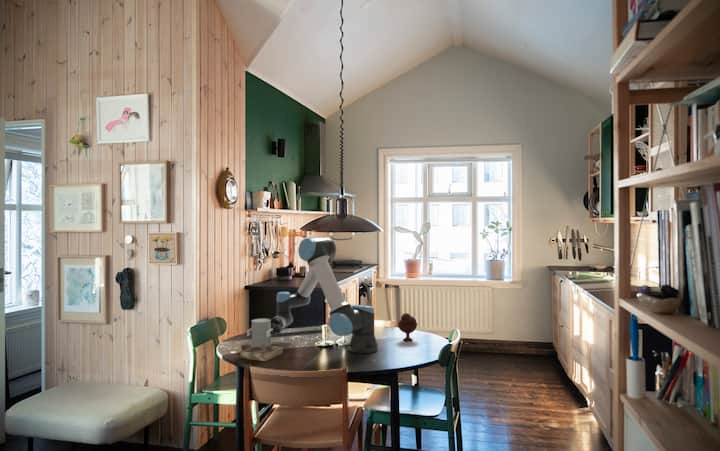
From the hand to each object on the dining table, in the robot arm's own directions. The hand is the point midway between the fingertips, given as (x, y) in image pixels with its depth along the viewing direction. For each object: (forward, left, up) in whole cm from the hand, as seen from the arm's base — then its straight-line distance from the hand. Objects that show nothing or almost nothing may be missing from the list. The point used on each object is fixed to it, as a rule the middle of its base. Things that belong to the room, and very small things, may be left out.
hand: (257, 333), depth 239 cm
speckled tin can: (+1, -4, -7) cm, 8 cm away
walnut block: (+12, -7, -12) cm, 19 cm away
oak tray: (+1, -4, -12) cm, 13 cm away
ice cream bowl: (-57, -60, -12) cm, 84 cm away
